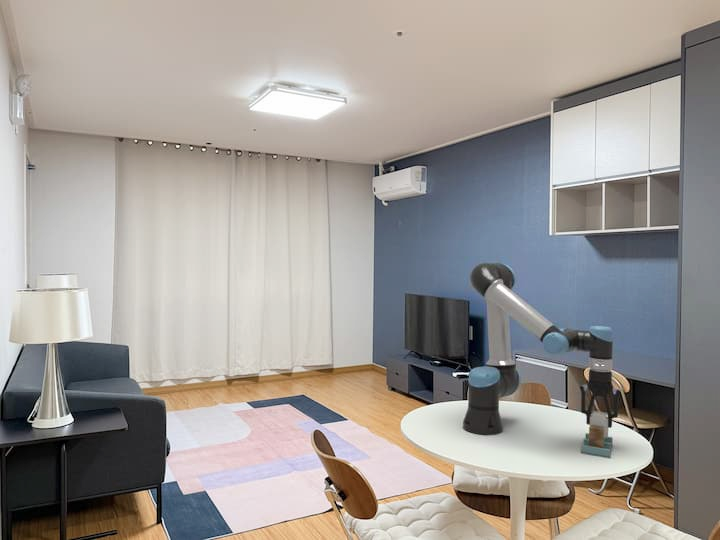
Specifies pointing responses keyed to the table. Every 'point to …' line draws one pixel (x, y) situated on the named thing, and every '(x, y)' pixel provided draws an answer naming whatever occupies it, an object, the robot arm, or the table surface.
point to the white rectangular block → (599, 420)
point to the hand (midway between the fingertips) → (598, 434)
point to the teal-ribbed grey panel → (595, 450)
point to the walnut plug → (596, 436)
